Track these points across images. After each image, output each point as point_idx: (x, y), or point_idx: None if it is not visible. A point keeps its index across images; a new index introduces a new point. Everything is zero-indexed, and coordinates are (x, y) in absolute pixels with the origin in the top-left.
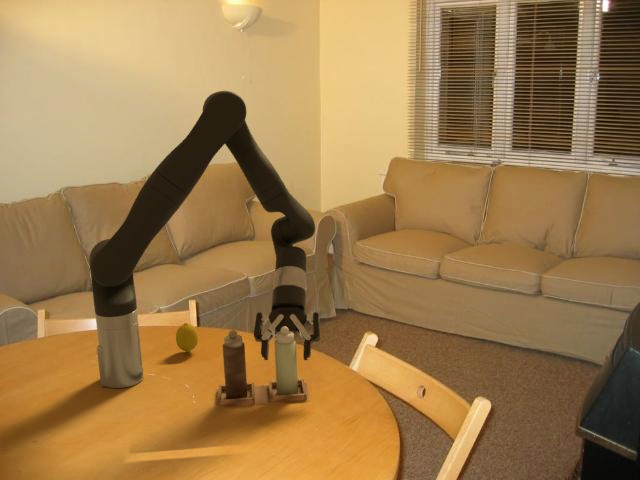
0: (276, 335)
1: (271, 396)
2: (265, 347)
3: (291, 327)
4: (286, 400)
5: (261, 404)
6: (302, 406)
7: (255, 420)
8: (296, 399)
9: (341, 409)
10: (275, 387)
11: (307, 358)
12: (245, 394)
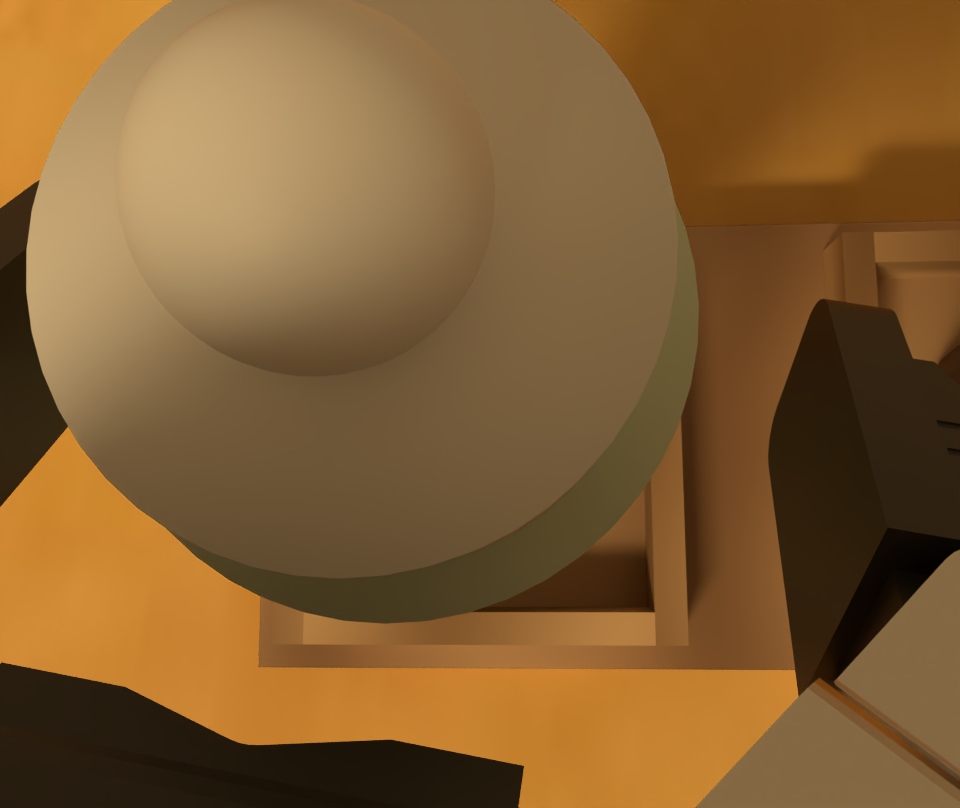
0: (658, 162)
1: None
2: (901, 405)
3: (12, 783)
4: None
5: (757, 226)
6: None
7: (798, 54)
8: None
9: (24, 154)
10: (606, 596)
11: None
12: (952, 366)
